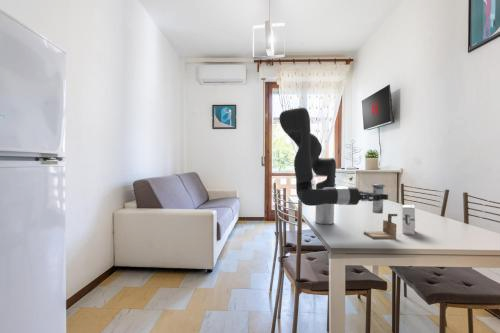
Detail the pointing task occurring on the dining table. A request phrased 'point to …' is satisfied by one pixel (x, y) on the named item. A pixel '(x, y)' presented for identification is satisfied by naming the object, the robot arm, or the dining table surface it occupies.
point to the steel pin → (378, 204)
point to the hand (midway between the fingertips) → (384, 196)
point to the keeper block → (384, 230)
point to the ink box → (408, 219)
